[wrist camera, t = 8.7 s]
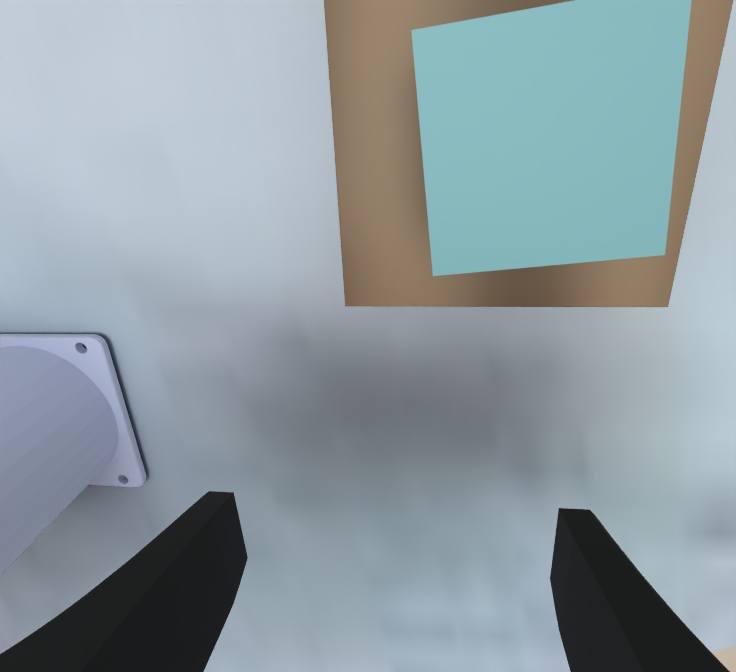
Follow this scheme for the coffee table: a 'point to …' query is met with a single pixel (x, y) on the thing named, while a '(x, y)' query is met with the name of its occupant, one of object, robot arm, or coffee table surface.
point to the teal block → (550, 133)
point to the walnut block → (406, 174)
